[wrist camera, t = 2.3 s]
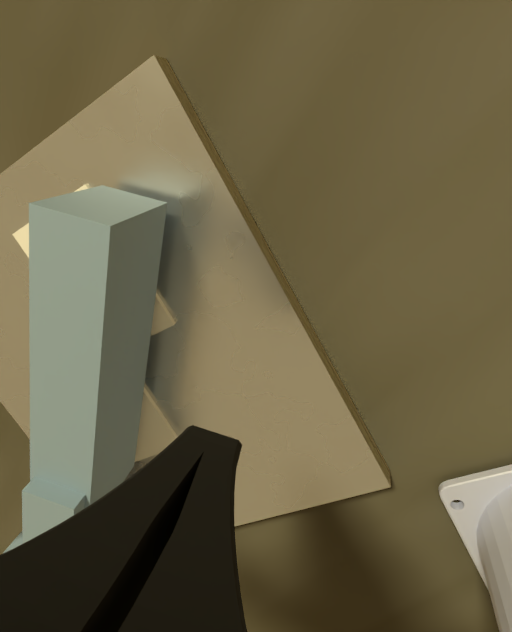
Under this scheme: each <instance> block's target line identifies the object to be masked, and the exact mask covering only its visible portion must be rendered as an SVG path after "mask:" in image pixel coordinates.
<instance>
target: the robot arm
mask: <svg viewBox="0 0 512 632" xmlns="http://www.w3.org/2000/svg"><path fill="white" fill-rule="evenodd" d="M241 448H242V444H241V442H240V441H239V440H237V439H234V438H231V437H228V436H225V435H222V434H219V433H216V432H213V431H210V430H206V429H203V428H200V427H197V426H194V425H191V426H189V427H187V428H186V429H185V430H184V431H183V432H182V433H181V434H180V435H179V436H178V437H177V438H176V439H175V440H174V441H173V442H172V443H171V444H170V445H168V446H167V447H166V448H165V449H164V450H163V451H162V452H160V453H159V454H158V455H157V456H156V457H155V458H153V459H152V460H151V461H150V462H148V463H147V464H146V465H145V466H143V467H142V468H141V469H140V470H138V471H137V472H136V473H135V474H133V475H132V476H131V477H129V478H128V479H127V480H125V481H124V482H122V483H121V484H120V485H118V486H117V487H115V488H114V489H113V490H111V491H110V492H108V493H107V494H106V495H104V496H103V497H101V498H100V499H98V500H97V501H95V502H94V503H92V504H91V505H89V506H88V507H86V508H85V509H83V510H82V511H80V512H78V513H77V514H75V515H73V516H72V517H70V518H68V519H67V520H65V521H63V522H62V523H60V524H58V525H57V526H55V527H53V528H51V529H49V530H47V531H46V532H44V533H42V534H40V535H38V536H36V537H35V538H33V539H31V540H29V541H27V542H25V543H23V544H21V545H19V546H17V547H16V548H13V549H11V550H9V551H7V552H5V553H3V554H1V555H0V632H247V629H246V624H245V619H244V613H243V606H242V600H241V593H240V585H239V577H238V569H237V558H236V545H235V527H234V492H235V478H236V468H237V464H238V460H239V456H240V452H241ZM439 494H440V498H441V500H442V502H443V504H444V506H445V508H446V510H447V512H448V514H449V515H450V517H451V519H452V521H453V523H454V525H455V527H456V529H457V531H458V533H459V535H460V537H461V539H462V541H463V543H464V544H465V546H466V548H467V550H468V552H469V554H470V556H471V558H472V560H473V562H474V564H475V566H476V568H477V570H478V572H479V573H480V575H481V577H482V579H483V581H484V583H485V585H486V587H487V589H488V591H489V593H490V597H491V601H492V605H493V609H494V613H495V617H496V621H497V624H498V628H499V632H512V465H507V466H503V467H499V468H495V469H491V470H487V471H483V472H479V473H475V474H471V475H467V476H463V477H459V478H455V479H451V480H447V481H444V482H442V483H441V484H440V485H439ZM454 500H460V502H458V503H454V502H452V501H454Z"/></svg>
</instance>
